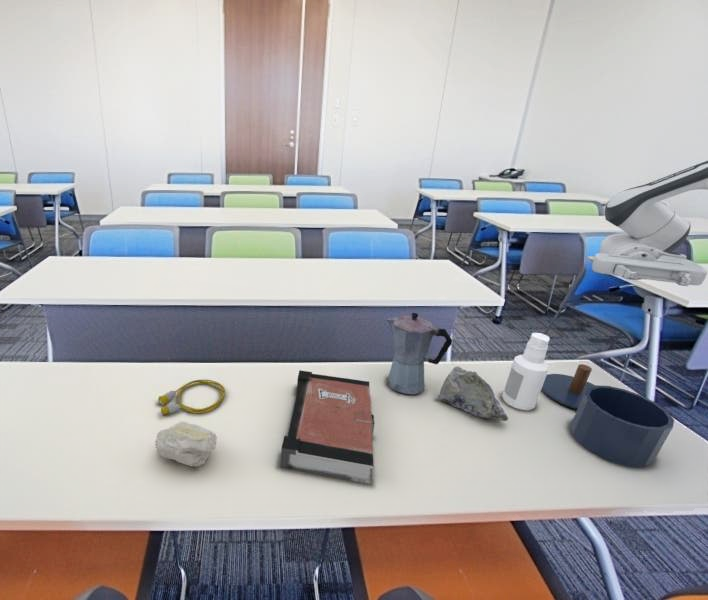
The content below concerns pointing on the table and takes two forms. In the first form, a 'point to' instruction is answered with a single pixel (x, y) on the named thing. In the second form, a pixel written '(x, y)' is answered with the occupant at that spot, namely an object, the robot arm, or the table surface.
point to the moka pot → (412, 352)
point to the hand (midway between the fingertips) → (658, 279)
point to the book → (330, 428)
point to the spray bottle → (527, 374)
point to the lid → (568, 386)
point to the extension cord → (177, 406)
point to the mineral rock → (471, 394)
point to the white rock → (186, 443)
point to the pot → (621, 426)
